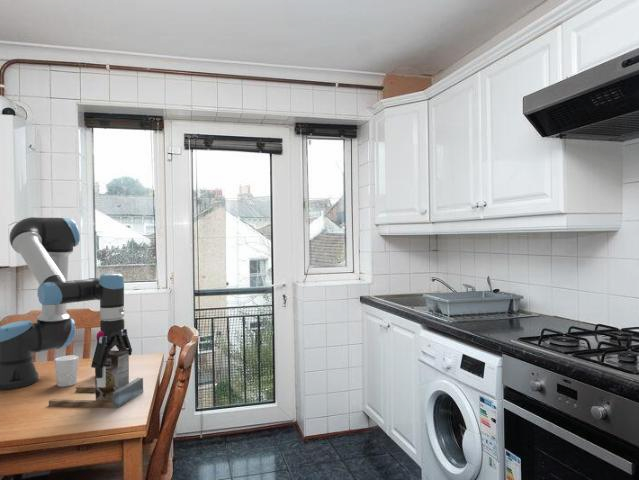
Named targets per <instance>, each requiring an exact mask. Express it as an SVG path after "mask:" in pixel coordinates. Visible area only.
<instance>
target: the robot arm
mask: <svg viewBox="0 0 639 480" xmlns="http://www.w3.org/2000/svg"><path fill="white" fill-rule="evenodd" d="M80 235H81V233H80V230H79V226H78V224H77V222H76V221H75V220H73V219H72V218H67V217H66V218H65V217H34V216H33V217H32V216H31V217H25V218H22V219H21V220H19V221H18V222H17V223H16V224H14V226H13V227H12V228H11V230H10V232H9V243H10V245H11V247H12V249H13V251H14V252H16V253H18V254H20V256H21V257H22V259H23V261H24V262H25V264H26V265H27V267H28V268H29V270H30V272H31V273H32V276H34V278H35V280H36V281H37V283H38V284H39V286H38V288H37V297H38V302H39V303H40V304H41V313H40V314H38V316H37V317H36V322H33V321H31V320H25V319H24V320H18V321H14V322H10V323H6V324H4V325H3V324H2V326H0V390H1V391H3V390H12V389H20V388H23V387H27V386H30V385H32V384H35V383H37V382H39V379H40V378H39V373H38V371H37V368H36V366H35V364H34V353H41V352H46V351H51V350H57V349H62V348H65V347H68V346H69V345H71V344H72V343H73V342H74V339H75V336H76V325H75V324H76V322H75V320H74V319H73V318H71V315H70V314H69V313H68V312H67V304H72V303H80V302H90V301H99V319H100V324H99V325H100V326H99V328H100V330H99V331H102V332H104V336H103V337H98V338H97V337H96V346H95V350H94V353H93V358H92V362H91V365H90V366H91V368H94V369H95V368H96V377H97V387H106V367H104V364H105V362H106V359H107V357H108V354H109V352H110V350H112V349H113V348H114V347H116V349H117V351H129V356H131V355H132V354H133V353H132V352H133V347H132V345H131V342H130V339H129V336H128V329H126V328H125V319H124V317H125V282H124V276H123V274H121V273H105V274H103V273H102V274H100V276H99V277H91V278H90V277H89V278H87V279H78V280H77V279H76V280H68V277H69V256H70V255H71V254H72V253H73V252H74V248H75V247H77V246H79V245H80V244H79V243H80V242H81V239H80V238H81V236H80ZM106 345H107V346H106ZM95 363H96V364H95Z"/></svg>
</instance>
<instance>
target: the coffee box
mask: <svg viewBox="0 0 639 480" xmlns="http://www.w3.org/2000/svg"><path fill="white" fill-rule="evenodd" d="M129 363H130V355H129V351H119V350H116V349H115V350H114V349H113V350H112V349H111V350H110V352H109V354H108V357H107V359H106V362H105V364H104V367H106V387H97V377H96V368H94V375H95V376H94V377H95V379H94V380H95V381H94V383H95V384H94V386H95V392H94V393H95V394H94V395H95V400H99V401H113V392H114V391H116V390H118V389H120V388H121V387H123V386H125V385H126V384H128V383H130V364H129ZM95 364H96V363H95Z"/></svg>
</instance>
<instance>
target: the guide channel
mask: <svg viewBox="0 0 639 480" xmlns="http://www.w3.org/2000/svg"><path fill="white" fill-rule="evenodd" d="M75 392H77V393H80V392H81V393H95V385H92V386H91V385H78V386H76V387H75ZM143 392H144V377H137V378H134V379H133V380H132V381H129V383H128V384H126V385H125V386H123V387H121V388H120V389H118V390H116V391H114V392H113V401H99V400H96V399H95V400H93V399H91V400H90V399H59V398H58V399H57V398H52V399H50V400H48V407H80V408H109V409H110V408H112V409H113V408H114V409H119V408H121V407H123V406H124V405H126V404H127V403H129V402H130V401H131V400H134V399H135V398H137V396H139V395H140V394H142V393H143Z"/></svg>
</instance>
